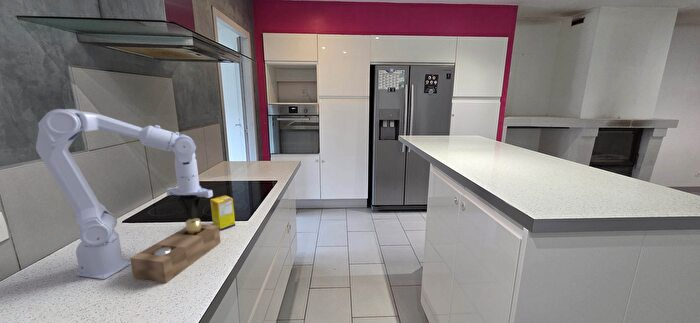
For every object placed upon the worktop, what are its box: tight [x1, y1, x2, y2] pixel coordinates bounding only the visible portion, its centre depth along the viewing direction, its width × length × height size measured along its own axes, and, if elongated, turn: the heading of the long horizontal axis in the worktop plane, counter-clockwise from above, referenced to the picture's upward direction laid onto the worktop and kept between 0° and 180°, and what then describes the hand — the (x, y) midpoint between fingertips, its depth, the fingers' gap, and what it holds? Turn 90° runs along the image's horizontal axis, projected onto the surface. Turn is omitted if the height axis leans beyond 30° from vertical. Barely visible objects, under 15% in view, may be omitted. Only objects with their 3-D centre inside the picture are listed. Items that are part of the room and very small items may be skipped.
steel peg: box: [154, 247, 171, 256], centre depth 78 cm, size 4×4×6 cm
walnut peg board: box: [129, 224, 221, 284], centre depth 84 cm, size 10×22×6 cm, turn 169°
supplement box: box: [209, 195, 236, 232], centre depth 106 cm, size 6×6×11 cm
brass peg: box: [185, 217, 202, 235], centre depth 89 cm, size 4×4×6 cm
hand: (192, 218), depth 88 cm, fingers closed
